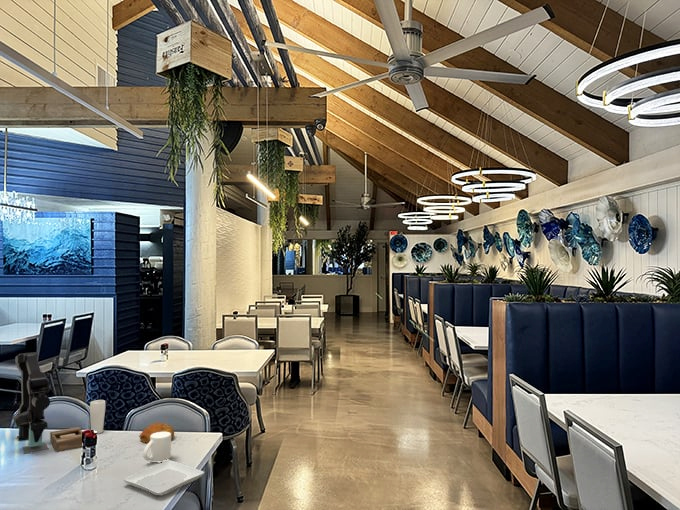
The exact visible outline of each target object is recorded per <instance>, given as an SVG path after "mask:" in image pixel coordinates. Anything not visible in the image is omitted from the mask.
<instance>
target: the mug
mask: <svg viewBox="0 0 680 510" xmlns="http://www.w3.org/2000/svg"><path fill="white" fill-rule="evenodd" d="M171 448H172V439H171V433H170V432H156V433H153V434H152V435H151V436H150V442H149V443H146V446H145V447H144V449H143V452H142V457H143V459H144V460H145V461H149V462H150V460H151V461H163V460H167V459H169V458H170V457H171V456H172V455H171V454H172V453H171V452H172V449H171ZM148 451H149V456H148ZM170 459H171V458H170Z"/></svg>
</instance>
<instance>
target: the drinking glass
mask: <svg viewBox="0 0 680 510" xmlns="http://www.w3.org/2000/svg"><path fill="white" fill-rule="evenodd" d="M105 414H106V400H104V399H97V400H91V401H90V403H89V417H90V419H89V420H90V421H89V422H90V431H91V430H95V431H97V434H96V435H98V434H101V433H103V431H104V423H105V422H104V421H105Z"/></svg>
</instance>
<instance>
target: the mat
mask: <svg viewBox="0 0 680 510" xmlns="http://www.w3.org/2000/svg"><path fill="white" fill-rule="evenodd" d="M21 449H22V453H23V454H24V455H25V454H26V455H27V454H31V452H32V453H36V452H43V451H47V450H49V446H48V445H47V443H46V442H42V445H39V446H33V447H30V446H29V445H25V446H22V447H21Z"/></svg>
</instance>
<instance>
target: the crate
mask: <svg viewBox="0 0 680 510" xmlns="http://www.w3.org/2000/svg"><path fill="white" fill-rule="evenodd" d="M82 432H83V430H82V428H81V426H78V427H71V428H67V429H61V430H53V431H50V439H49V443H50V445H51V446H52V447H53V450H54V451H55V453H60V451H61V452H64V451H65V450H66V451H70V450H71V451H72V450H74V449H81V448H83V447H82Z"/></svg>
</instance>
